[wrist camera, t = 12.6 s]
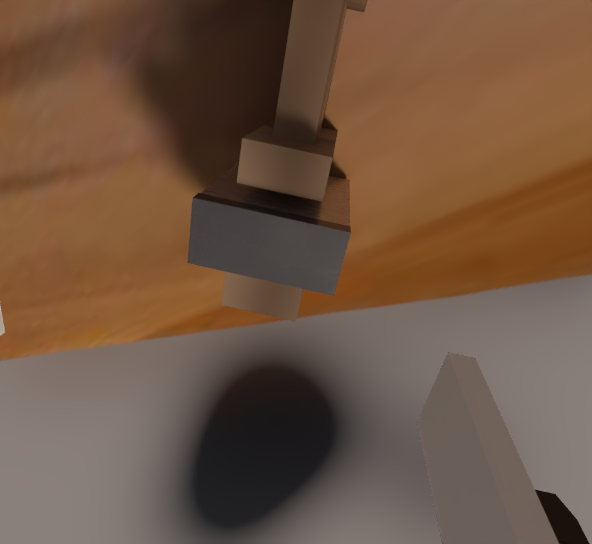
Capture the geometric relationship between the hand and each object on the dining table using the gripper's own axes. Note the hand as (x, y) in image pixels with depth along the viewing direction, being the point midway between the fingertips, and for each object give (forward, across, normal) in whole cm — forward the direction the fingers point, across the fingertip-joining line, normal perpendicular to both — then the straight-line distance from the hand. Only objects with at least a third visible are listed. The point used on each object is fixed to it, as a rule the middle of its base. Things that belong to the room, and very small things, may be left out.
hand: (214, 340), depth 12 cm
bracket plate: (+17, 0, 0) cm, 17 cm away
